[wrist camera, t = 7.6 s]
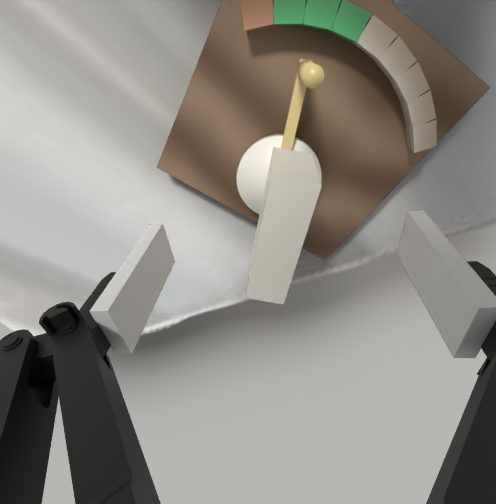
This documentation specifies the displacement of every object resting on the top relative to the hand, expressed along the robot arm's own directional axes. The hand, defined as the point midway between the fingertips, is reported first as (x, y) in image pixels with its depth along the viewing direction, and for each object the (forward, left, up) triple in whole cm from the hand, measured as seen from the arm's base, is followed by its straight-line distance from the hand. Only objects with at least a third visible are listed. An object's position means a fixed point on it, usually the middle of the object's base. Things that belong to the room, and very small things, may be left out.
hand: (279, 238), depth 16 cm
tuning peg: (-2, -1, -10) cm, 11 cm away
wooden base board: (-4, 0, -13) cm, 13 cm away
